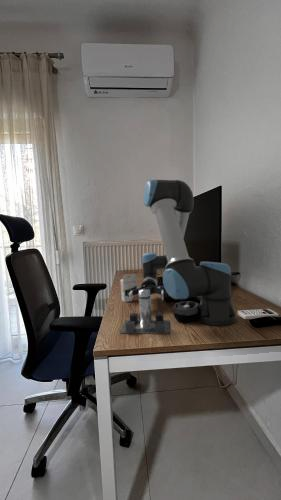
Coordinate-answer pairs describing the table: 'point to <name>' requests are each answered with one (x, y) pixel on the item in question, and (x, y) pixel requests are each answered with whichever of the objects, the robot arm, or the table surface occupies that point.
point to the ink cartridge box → (129, 286)
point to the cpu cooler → (186, 311)
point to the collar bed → (134, 328)
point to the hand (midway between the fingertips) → (145, 297)
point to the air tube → (144, 308)
